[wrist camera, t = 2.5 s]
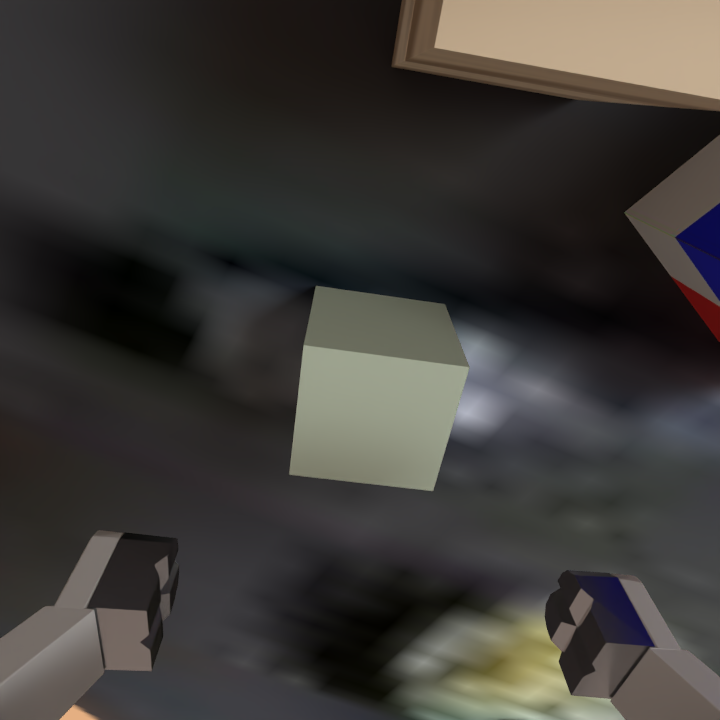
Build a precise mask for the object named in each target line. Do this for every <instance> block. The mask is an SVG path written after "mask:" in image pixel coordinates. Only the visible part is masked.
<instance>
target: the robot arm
mask: <svg viewBox="0 0 720 720" xmlns="http://www.w3.org/2000/svg"><path fill="white" fill-rule="evenodd" d="M177 552H178V539H176V538H169V537H160V536H151V535H142V534H132V533H123V532H112V531H101V530H98V531H97V532H96V533H95V534H94V535H93V536H92V537H91V539H90V541H89V542H88V544H87V546H86V548H85V550H84V552H83V553H82V555H81V557H80V559H79V561H78V563H77V564H76V566H75V568H74V570H73V572H72V574H71V575H70V577H69V579H68V581H67V583H66V585H65V586H64V588H63V590H62V592H61V594H60V596H59V597H58V599H57V601H56V603H55V605H54V606H44V607H43V608H42V609H40V610H39V611H38V612H36V613H35V614H33V615H32V616H31V617H29V618H28V619H27V620H25V621H24V622H22V623H21V624H20V625H18V626H17V627H16V628H14V629H13V630H11V631H10V632H9V633H7V634H6V635H4V636H3V637H2V638H0V720H59V719H60V718H61V717H62V716H63V715H64V714H65V713H66V712H67V711H68V710H69V709H70V708H71V707H72V706H73V705H74V704H75V703H76V702H77V701H78V700H79V699H80V698H81V696H82V695H83V694H84V693H85V692H86V691H87V690H88V689H89V688H90V687H91V686H92V685H93V684H94V683H95V682H96V681H97V680H98V679H99V678H100V677H101V676H102V675H103V674H104V670H137V671H152V669H153V666H154V662H155V659H156V656H157V653H158V650H159V647H160V644H161V641H162V638H163V623H162V621H163V620H164V619H165V618H166V617H167V616H169V615H170V613H171V610H172V606H173V603H174V600H175V595H176V590H177V586H178V577H179V565H178V564H177V563H176V562H175V558H176V555H177ZM558 583H559V585H560V589H558V590H557V591H555V592H553V593H552V594H550V597H549V599H548V601H547V603H546V610H545V620H546V626H547V630H548V633H549V636H550V639H551V641H552V642H553V643H554V644H555V645H556V646H557V647H558V648H559V649H560V650H561V651H562V653H561V656H560V660H559V664H560V666H561V669H562V672H563V674H564V677H565V680H566V683H567V685H568V688H569V691H570V693H571V695H574V696H586V697H597V698H608V699H611V702H612V704H613V705H614V706H615V707H616V708H617V710H618V711H619V712H620V713H621V714H622V716H623V717H624V718H625V719H626V720H720V677H719V676H718V675H717V674H716V673H714V672H713V671H712V670H711V669H710V668H708V667H707V666H706V665H705V664H704V663H703V662H701V661H700V660H699V659H698V658H697V657H695V656H694V655H693V654H692V653H691V652H689V651H688V650H682V649H681V648H680V647H679V645H678V643H677V642H676V640H675V638H674V637H673V635H672V633H671V631H670V630H669V628H668V626H667V625H666V623H665V621H664V619H663V618H662V616H661V614H660V613H659V611H658V609H657V608H656V606H655V604H654V602H653V601H652V599H651V597H650V596H649V594H648V592H647V591H646V589H645V587H644V585H643V584H642V582H641V581H640V580H639V579H638V578H637V577H636V576H633V575H621V574H610V573H602V572H588V571H573V570H567V571H565V572H563V573H562V574H561V576H560V578H559V579H558Z"/></svg>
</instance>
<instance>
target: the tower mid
mask: <svg viewBox="0 0 720 720" xmlns="http://www.w3.org/2000/svg"><path fill="white" fill-rule="evenodd" d="M405 61H407V62H413V63H418V64H424V65H429V66H435V67H441V68H446V69H452V70H457V71H463V72H469V73H474V74H480V75H485V76H491V77H497V78H502V79H508V80H513V81H519V82H525V83H530V84H536V85H541V86H547V87H553V88H558V89H564V90H569V91H575V92H581V93H586V94H592V95H597V96H603V97H609V98H614V99H620V100H625V101H631V102H637V103H642V104H648V105H653V106H660V107H673V108H685V109H698V110H710V111H720V0H415V5H414V11H413V17H412V23H411V29H410V34H409V40H408V46H407V52H406V58H405Z"/></svg>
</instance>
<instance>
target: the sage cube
mask: <svg viewBox="0 0 720 720" xmlns="http://www.w3.org/2000/svg"><path fill="white" fill-rule="evenodd" d="M468 371H469V365H468V362H467V360H466V357H465V354H464V352H463V349H462V347H461V344H460V342H459V339H458V337H457V334H456V331H455V329H454V326H453V324H452V321H451V319H450V316H449V313H448V311H447V308H446V306H445V304H440V303H433V302H426V301H419V300H412V299H405V298H398V297H391V296H384V295H377V294H370V293H363V292H356V291H349V290H342V289H335V288H328V287H321V286H316V288H315V293H314V297H313V302H312V307H311V312H310V317H309V322H308V326H307V331H306V336H305V341H304V346H303V355H302V364H301V373H300V382H299V391H298V400H297V409H296V418H295V427H294V436H293V445H292V454H291V463H290V472H289V475H297V476H305V477H314V478H323V479H332V480H341V481H349V482H358V483H367V484H376V485H385V486H393V487H402V488H411V489H420V490H429V491H433V489H434V486H435V482H436V479H437V476H438V472H439V469H440V466H441V462H442V459H443V455H444V452H445V449H446V445H447V442H448V438H449V435H450V432H451V428H452V425H453V422H454V418H455V415H456V411H457V408H458V405H459V401H460V398H461V394H462V391H463V388H464V384H465V381H466V378H467V374H468Z"/></svg>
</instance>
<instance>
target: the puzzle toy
mask: <svg viewBox="0 0 720 720" xmlns="http://www.w3.org/2000/svg"><path fill="white" fill-rule="evenodd" d="M624 213H625V215H626V216H627V217H628V219H629V220H630V221H631V223H632V224H633V225H634V227H635V228H636V230H637V231H638V232H639V234H640V235H641V236H642V238H643V239H644V240H645V242H646V243H647V245H648V246H649V247H650V249H651V250H652V251H653V253H654V254H655V255H656V257H657V258H658V259H659V261H660V262H661V264H662V265H663V266H664V268H665V269H666V270H667V272H668V273H669V274H670V276H671V277H672V279H673V280H674V281H675V283H676V284H677V285H678V287H679V288H680V289H681V291H682V292H683V293H684V295H685V296H686V298H687V299H688V300H689V302H690V303H691V304H692V306H693V307H694V308H695V310H696V311H697V313H698V314H699V315H700V317H701V318H702V319H703V321H704V322H705V323H706V325H707V326H708V327H709V329H710V330H711V332H712V333H713V334H714V336H715V337H716V338H717V340H718V341H719V342H720V135H719V136H718V137H716V138H715V139H714V140H713V141H711V142H710V143H709V144H708V145H707V146H705V147H704V148H703V149H702V150H700V151H699V152H698V153H697V154H695V155H694V156H693V157H692V158H691V159H689V160H688V161H687V162H686V163H684V164H683V165H682V166H681V167H680V168H678V169H677V170H676V171H675V172H673V173H672V174H671V175H670V176H668V177H667V178H666V179H665V180H664V181H662V182H661V183H660V184H659V185H657V186H656V187H655V188H654V189H652V190H651V191H650V192H649V193H648V194H646V195H645V196H644V197H643V198H641V199H640V200H639V201H638V202H637V203H635V204H634V205H633V206H632V207H630V208H629V209H628V210H627V211H625V212H624Z"/></svg>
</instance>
